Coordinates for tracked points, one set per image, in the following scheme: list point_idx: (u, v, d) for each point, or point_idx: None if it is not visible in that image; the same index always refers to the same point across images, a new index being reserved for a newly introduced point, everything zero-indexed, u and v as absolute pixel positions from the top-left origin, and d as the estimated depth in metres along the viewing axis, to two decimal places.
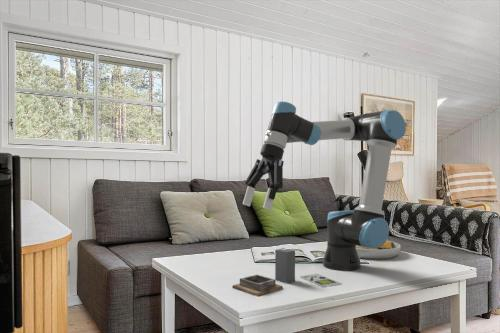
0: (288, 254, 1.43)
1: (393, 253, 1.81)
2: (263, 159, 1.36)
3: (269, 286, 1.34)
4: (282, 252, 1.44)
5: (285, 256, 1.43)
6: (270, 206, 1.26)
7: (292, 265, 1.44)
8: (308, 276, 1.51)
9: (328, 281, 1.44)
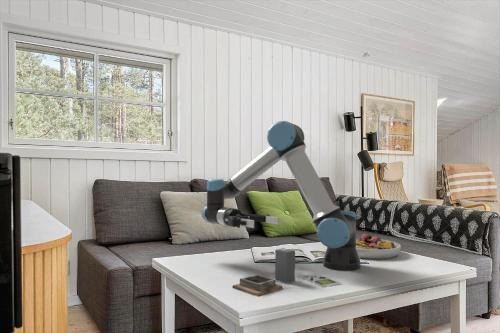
0: (288, 254, 1.43)
1: (393, 253, 1.81)
2: None
3: (269, 286, 1.34)
4: (282, 252, 1.44)
5: (285, 256, 1.43)
6: (250, 221, 1.49)
7: (292, 265, 1.44)
8: (308, 276, 1.51)
9: (328, 281, 1.44)
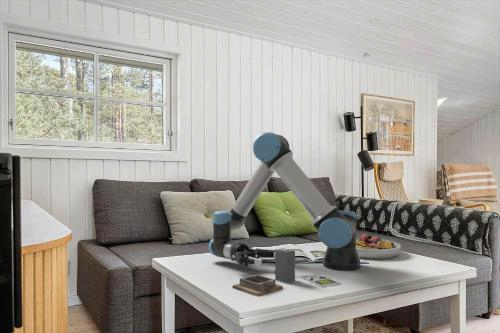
0: (288, 254, 1.43)
1: (393, 253, 1.81)
2: None
3: (269, 286, 1.34)
4: (282, 252, 1.44)
5: (285, 256, 1.43)
6: (258, 260, 1.45)
7: (292, 265, 1.44)
8: (308, 276, 1.51)
9: (328, 281, 1.44)
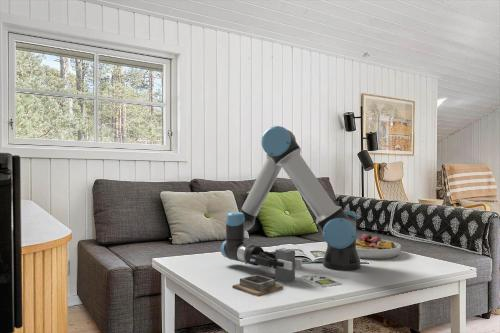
0: (288, 254, 1.43)
1: (393, 253, 1.81)
2: None
3: (269, 286, 1.34)
4: (282, 252, 1.44)
5: (285, 256, 1.43)
6: (288, 263, 1.41)
7: (292, 265, 1.44)
8: (308, 276, 1.51)
9: (328, 281, 1.44)
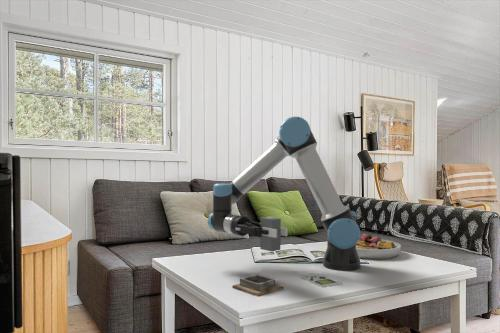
0: (273, 222, 1.39)
1: (393, 253, 1.81)
2: None
3: (269, 286, 1.34)
4: (267, 220, 1.40)
5: (270, 223, 1.39)
6: (273, 230, 1.37)
7: (277, 233, 1.41)
8: (308, 276, 1.51)
9: (328, 281, 1.44)
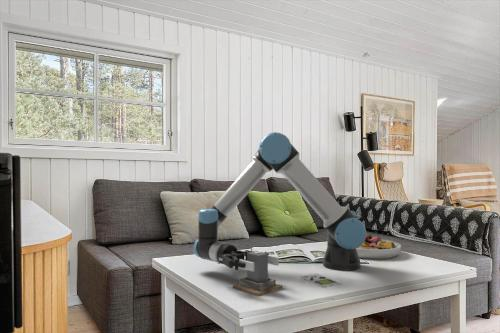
0: (260, 257, 1.33)
1: (393, 253, 1.81)
2: None
3: (269, 286, 1.34)
4: (254, 255, 1.34)
5: (256, 259, 1.33)
6: (250, 264, 1.30)
7: (264, 269, 1.35)
8: (308, 276, 1.51)
9: (328, 281, 1.44)
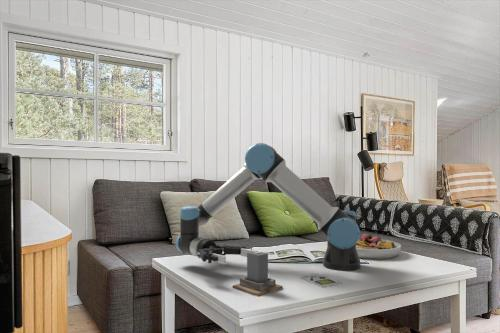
0: (260, 257, 1.33)
1: (393, 253, 1.81)
2: None
3: (269, 286, 1.34)
4: (254, 255, 1.34)
5: (256, 259, 1.33)
6: (222, 257, 1.39)
7: (264, 269, 1.35)
8: (308, 276, 1.51)
9: (328, 281, 1.44)
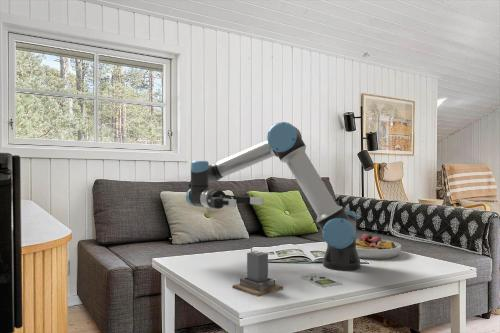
0: (260, 257, 1.33)
1: (393, 253, 1.81)
2: None
3: (269, 286, 1.34)
4: (254, 255, 1.34)
5: (256, 259, 1.33)
6: (232, 201, 1.44)
7: (264, 269, 1.35)
8: (308, 276, 1.51)
9: (328, 281, 1.44)
